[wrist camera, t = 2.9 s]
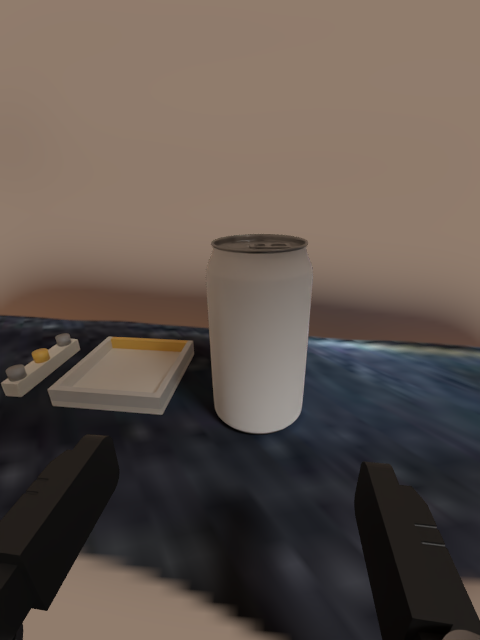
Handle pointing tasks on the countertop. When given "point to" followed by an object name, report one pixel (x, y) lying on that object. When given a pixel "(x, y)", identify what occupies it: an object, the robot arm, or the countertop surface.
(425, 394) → the countertop surface
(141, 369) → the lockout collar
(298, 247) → the can
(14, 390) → the indicator bank
